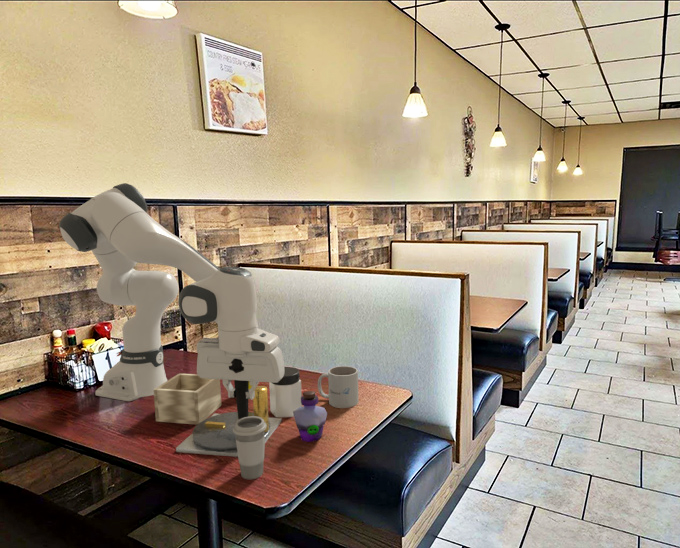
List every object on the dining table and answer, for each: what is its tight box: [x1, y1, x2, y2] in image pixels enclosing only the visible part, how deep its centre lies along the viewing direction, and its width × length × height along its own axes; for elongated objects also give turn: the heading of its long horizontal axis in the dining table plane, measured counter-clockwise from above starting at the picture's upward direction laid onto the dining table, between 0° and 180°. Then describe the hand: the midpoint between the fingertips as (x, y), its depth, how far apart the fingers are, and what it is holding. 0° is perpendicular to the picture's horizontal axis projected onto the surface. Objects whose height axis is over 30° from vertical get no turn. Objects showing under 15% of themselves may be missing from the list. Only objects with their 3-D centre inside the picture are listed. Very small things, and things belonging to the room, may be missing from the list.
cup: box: [233, 416, 267, 480], centre depth 103 cm, size 7×7×12 cm
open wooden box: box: [153, 373, 222, 426], centre depth 136 cm, size 13×13×9 cm
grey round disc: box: [192, 385, 270, 450], centre depth 121 cm, size 19×19×12 cm
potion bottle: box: [293, 390, 328, 443], centre depth 119 cm, size 9×9×12 cm
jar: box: [268, 366, 303, 418], centre depth 135 cm, size 9×8×12 cm
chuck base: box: [175, 412, 283, 458], centre depth 122 cm, size 20×20×1 cm
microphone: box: [229, 359, 249, 420], centre depth 111 cm, size 6×6×20 cm
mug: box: [317, 365, 359, 409], centre depth 141 cm, size 12×9×10 cm
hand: (241, 397), depth 111 cm, fingers closed on microphone, 3 cm apart
